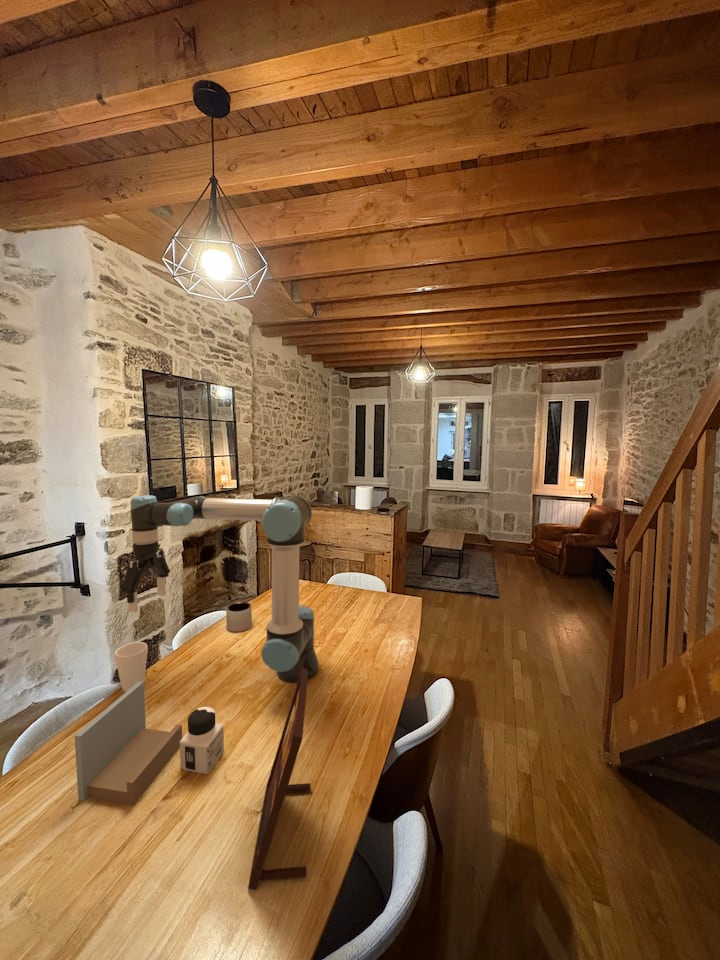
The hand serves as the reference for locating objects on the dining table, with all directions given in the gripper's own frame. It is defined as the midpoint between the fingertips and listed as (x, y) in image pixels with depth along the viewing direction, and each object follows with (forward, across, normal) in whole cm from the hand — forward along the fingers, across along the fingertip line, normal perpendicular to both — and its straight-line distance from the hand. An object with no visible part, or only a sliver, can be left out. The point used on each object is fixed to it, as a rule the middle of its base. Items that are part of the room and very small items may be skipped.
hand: (148, 603), depth 129 cm
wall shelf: (+28, +33, +21) cm, 48 cm away
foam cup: (+28, +4, -4) cm, 28 cm away
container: (+28, +28, +36) cm, 54 cm away
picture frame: (+28, +42, +63) cm, 81 cm away
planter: (+28, -41, +12) cm, 51 cm away
